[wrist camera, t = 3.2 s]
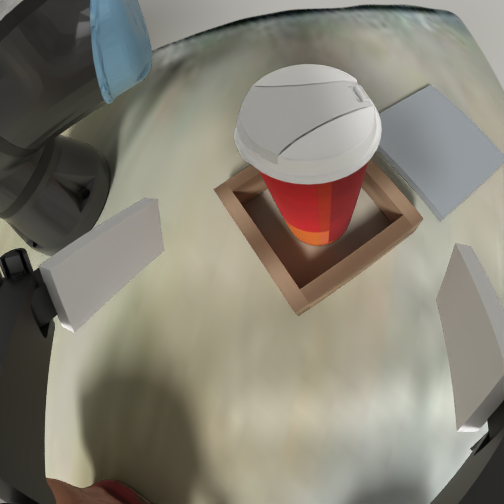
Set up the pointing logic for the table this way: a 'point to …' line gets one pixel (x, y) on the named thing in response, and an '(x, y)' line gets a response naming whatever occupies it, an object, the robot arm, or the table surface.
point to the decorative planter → (95, 493)
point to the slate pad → (437, 149)
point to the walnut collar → (303, 299)
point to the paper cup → (310, 145)
